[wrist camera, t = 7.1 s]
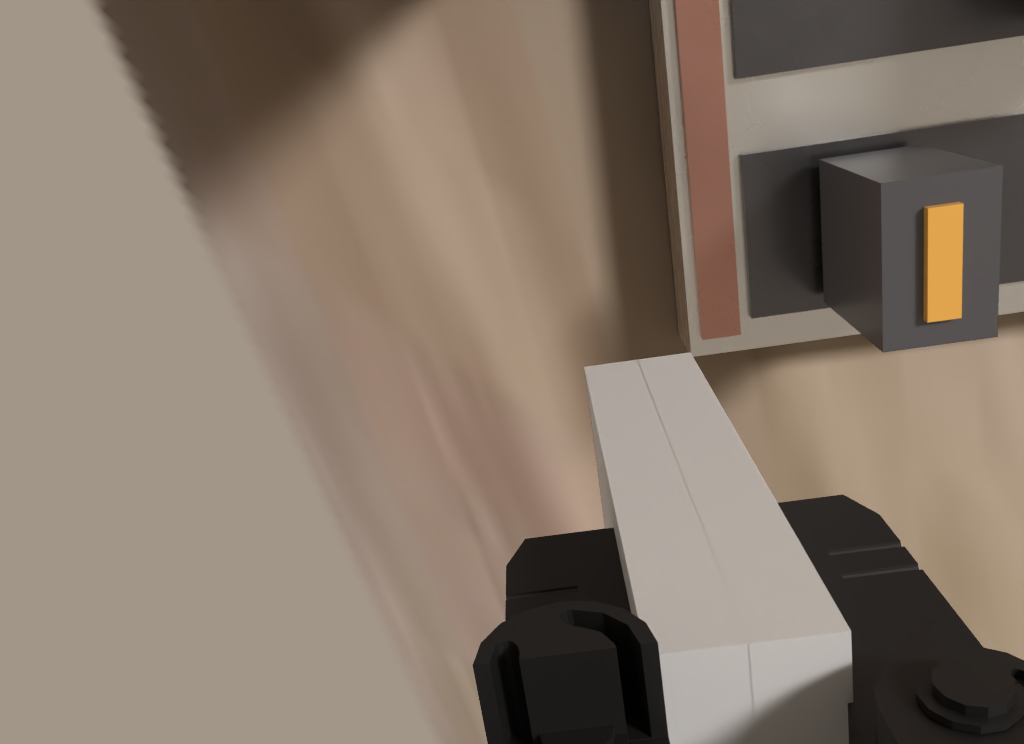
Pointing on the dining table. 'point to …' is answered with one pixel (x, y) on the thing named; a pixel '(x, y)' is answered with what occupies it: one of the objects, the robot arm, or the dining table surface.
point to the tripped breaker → (912, 245)
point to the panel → (816, 140)
